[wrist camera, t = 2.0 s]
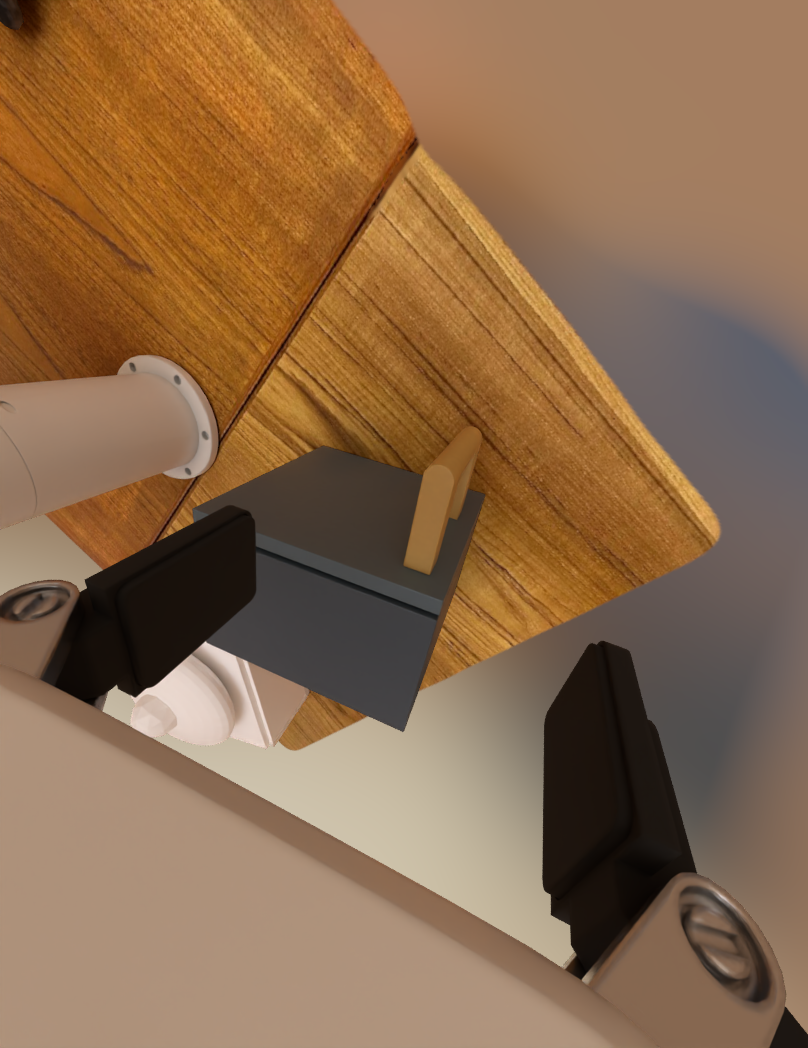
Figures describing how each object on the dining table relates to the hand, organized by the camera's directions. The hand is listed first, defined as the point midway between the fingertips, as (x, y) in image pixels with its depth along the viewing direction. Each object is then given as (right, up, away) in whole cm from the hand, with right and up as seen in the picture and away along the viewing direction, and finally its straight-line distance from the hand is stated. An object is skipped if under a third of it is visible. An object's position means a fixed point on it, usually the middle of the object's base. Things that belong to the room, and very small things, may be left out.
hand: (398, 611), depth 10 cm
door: (0, +10, +22) cm, 24 cm away
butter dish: (-22, -13, +42) cm, 49 cm away
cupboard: (-1, +2, +27) cm, 27 cm away
